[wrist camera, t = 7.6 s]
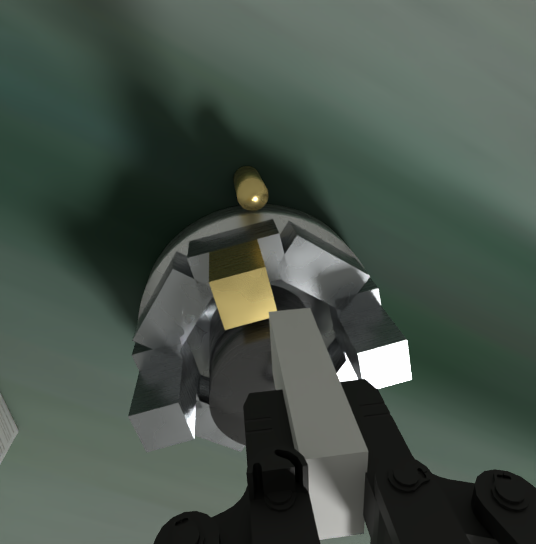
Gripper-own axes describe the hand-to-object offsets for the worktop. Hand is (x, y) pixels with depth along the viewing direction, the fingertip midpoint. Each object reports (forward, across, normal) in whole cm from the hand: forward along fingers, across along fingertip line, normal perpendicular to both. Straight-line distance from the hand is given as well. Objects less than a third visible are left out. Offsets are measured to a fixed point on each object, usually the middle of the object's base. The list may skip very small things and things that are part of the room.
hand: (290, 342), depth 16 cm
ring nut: (+9, -1, -5) cm, 11 cm away
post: (+12, -1, +4) cm, 13 cm away
